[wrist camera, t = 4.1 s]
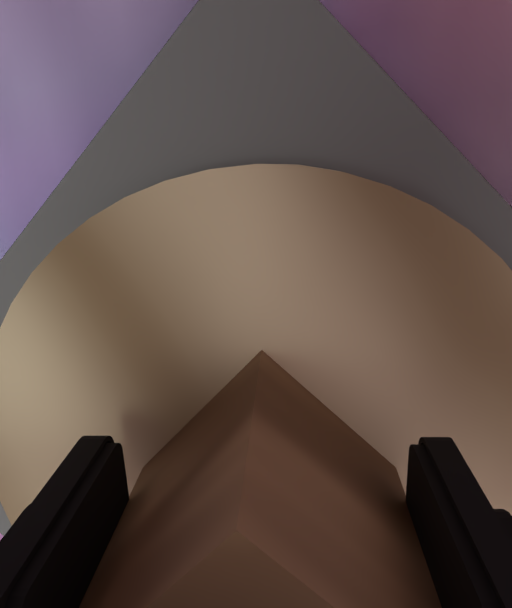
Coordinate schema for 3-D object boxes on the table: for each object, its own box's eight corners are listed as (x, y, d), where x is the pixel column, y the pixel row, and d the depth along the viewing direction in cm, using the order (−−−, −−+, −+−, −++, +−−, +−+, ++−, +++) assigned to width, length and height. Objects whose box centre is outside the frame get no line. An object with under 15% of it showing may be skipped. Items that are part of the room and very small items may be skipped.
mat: (254, -57, 9) (252, -71, 9) (706, 425, 12) (727, 439, 11) (-115, 423, 13) (-134, 435, 13) (279, 714, 15) (278, 735, 15)
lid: (251, 16, 9) (181, -244, 3) (663, 436, 11) (1094, 754, 5) (-82, 438, 12) (-417, 691, 7) (280, 703, 14) (275, 1081, 9)
